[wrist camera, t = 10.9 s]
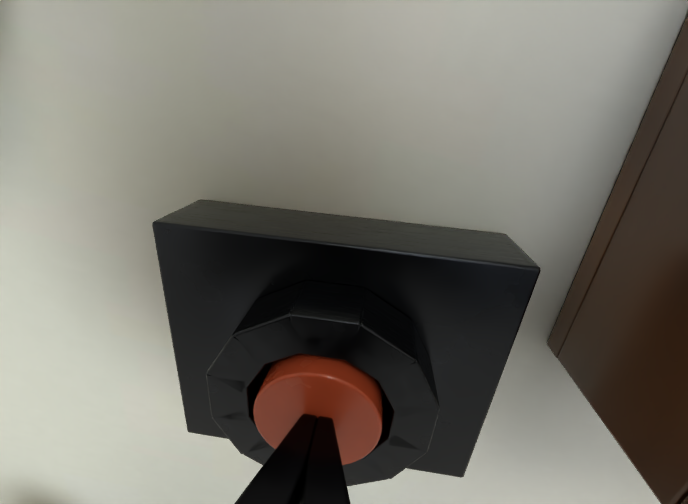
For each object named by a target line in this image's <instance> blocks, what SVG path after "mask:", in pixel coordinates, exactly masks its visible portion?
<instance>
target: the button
mask: <svg viewBox="0 0 688 504" xmlns="http://www.w3.org/2000/svg"><path fill="white" fill-rule="evenodd" d="M302 414H311V415H316V416H317V418H318V417H319V416H324V417H330V418H332V419H333V422H334V426H335V431H336V436H337V441H338V446H339V451H340V456H341V461H342V465H346V464H350V463H353V462H356V461H358V460H360V459H362V458H364V457H365V456H367V455H368V454H369V453H370V452H371V451H372V450H373V449H374V448H375V446H376V445H377V443H378V441H379V439H380V437H381V433H382V388H381V386H380V384H379V382H378V381H377V380H376V379H374V378H372V377H371V376H369V375H368V374H366V373H364V372H363V371H361V370H360V369H358V368H356V367H355V366H353V365H352V364H350V363H348V362H347V361H345V360H341V359H334V358H327V357H320V356H313V355H306V354H298V355H294V356H291V357H288V358H285V359H281V360H278V361H275V362H272V363H271V365H270V367H269V370H268V372H267V374H266V376H265V379H264V381H263V383H262V385H261V388H260V390H259V392H258V394H257V397H256V399H255V402H254V407H253V415H254V421H255V424H256V427H257V429H258V431H259V433H260V434H261V436H262V437H263V438H264V439H265V441H266V442H267V443H268V444H269V445H270V446H272V447H273V448H274V449H276V448H277V447H278V445H279V444H280V443H281V441H282V440H283V439H284V437H285V436H286V435H287V434H288V432H289V431H290V430H291V428H292V427H293V426H294V424H295V423H296V422H297V420H298V419H299V418H300V416H301V415H302Z"/></svg>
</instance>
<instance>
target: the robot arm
mask: <svg viewBox="0 0 688 504" xmlns="http://www.w3.org/2000/svg"><path fill="white" fill-rule="evenodd" d="M235 504H350V500H349V495H348V490H347V485H346V480H345V475H344V471H343V466H342V461H341V456H340V451H339V446H338V441H337V436H336V431H335V426H334V422H333V419H332V418H330V417H324V416H319V417H318V418H317V416H316V415H311V414H302V415H301V416H300V418H299V419H298V420H297V422H296V423H295V424H294V426H293V427H292V428H291V430H290V431H289V432H288V434H287V435H286V436H285V437H284V439H283V440H282V441H281V443H280V444H279V445H278V447H277V448H276V449H275V451H274V452H273V453H272V455H271V456H270V457H269V459H268V460H267V461H266V463H265V464H264V465H263V467H262V468H261V469H260V471H259V472H258V473H257V474H256V476H255V477H254V478H253V480H252V481H251V482H250V484H249V485H248V486H247V488H246V489H245V490H244V492H243V493H242V494H241V496H240V497H239V498H238V500H237V501H236V502H235Z"/></svg>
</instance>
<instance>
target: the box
mask: <svg viewBox="0 0 688 504" xmlns="http://www.w3.org/2000/svg"><path fill="white" fill-rule="evenodd" d="M547 345H548V347H549V348H550V349H551V351H552V352H553V354H554V355H555V356H556V357H557V358H558V360H559V361H560V363H561V364H562V365H563V367H564V368H565V370H566V371H567V372H568V374H569V375H570V377H571V378H572V380H573V381H574V382H575V384H576V385H577V387H578V388H579V389H580V391H581V392H582V394H583V395H584V396H585V398H586V399H587V401H588V402H589V403H590V405H591V406H592V408H593V409H594V410H595V412H596V413H597V415H598V416H599V417H600V419H601V420H602V422H603V423H604V424H605V426H606V427H607V429H608V430H609V431H610V433H611V434H612V436H613V437H614V438H615V440H616V441H617V443H618V444H619V445H620V447H621V448H622V450H623V451H624V452H625V454H626V455H627V457H628V458H629V459H630V461H631V462H632V464H633V465H634V466H635V468H636V469H637V471H638V472H639V473H640V475H641V476H642V478H643V479H644V481H645V482H646V483H647V485H648V486H649V488H650V489H651V490H652V492H653V493H654V495H655V496H656V497H657V499H658V500H659V502H660V503H661V504H681V503H682V501H683V500H684V499H685V498H686V497H687V496H688V15H687V18H686V20H685V22H684V25H683V27H682V29H681V32H680V34H679V36H678V39H677V41H676V43H675V46H674V48H673V50H672V53H671V55H670V57H669V60H668V62H667V64H666V67H665V69H664V71H663V74H662V76H661V78H660V81H659V83H658V85H657V88H656V90H655V92H654V95H653V97H652V99H651V102H650V104H649V106H648V109H647V111H646V113H645V116H644V118H643V120H642V123H641V125H640V127H639V130H638V132H637V134H636V137H635V139H634V141H633V144H632V146H631V148H630V151H629V153H628V155H627V158H626V160H625V162H624V165H623V167H622V169H621V172H620V174H619V176H618V179H617V181H616V183H615V186H614V188H613V190H612V193H611V195H610V197H609V200H608V202H607V204H606V207H605V209H604V211H603V214H602V216H601V218H600V221H599V223H598V225H597V228H596V230H595V232H594V235H593V237H592V239H591V242H590V244H589V246H588V249H587V251H586V253H585V256H584V258H583V260H582V263H581V265H580V267H579V270H578V272H577V274H576V277H575V279H574V281H573V284H572V286H571V288H570V291H569V293H568V295H567V298H566V300H565V302H564V305H563V307H562V309H561V312H560V314H559V317H558V319H557V321H556V324H555V326H554V328H553V331H552V333H551V335H550V338H549V340H548V342H547Z"/></svg>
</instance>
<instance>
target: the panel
mask: <svg viewBox="0 0 688 504" xmlns="http://www.w3.org/2000/svg"><path fill="white" fill-rule="evenodd" d="M152 226H153V231H154V237H155V243H156V249H157V255H158V261H159V266H160V272H161V278H162V284H163V290H164V296H165V301H166V307H167V313H168V319H169V325H170V331H171V336H172V342H173V348H174V354H175V360H176V366H177V371H178V377H179V383H180V389H181V395H182V400H183V406H184V412H185V418H186V424H187V430H188V432H190V433H196V434H203V435H209V436H215V437H221V438H227V439H230V441H231V442H232V443H233V444H234V446H235V447H236V448H237V449H238V451H239V452H240V453H241V454H244V455H245V456H247V457H249V458H251V459H253V460H254V461H256V462H258V463H260V464H262V465H264V464H265V463H266V461H267V460H268V459H269V457H270V456H271V455H272V453H273V452H274V451H275V449H274V448H273V447H272V446H270V445H269V444H268V443H267V442H266V441H265V439H264V438H263V437H262V436H261V434H260V433H259V431H258V429H257V427H256V424H255V421H254V415H253V407H254V402H255V399H256V397H257V394H258V392H259V390H260V388H261V385H262V383H263V381H264V379H265V376H266V374H267V372H268V370H269V367H270V365H271V363H272V362H275V361H278V360H281V359H285V358H288V357H291V356H294V355H298V354H306V355H313V356H320V357H327V358H334V359H341V360H345V361H347V362H348V363H350V364H352V365H353V366H355V367H356V368H358V369H360V370H361V371H363V372H364V373H366V374H368V375H369V376H371V377H372V378H374V379H376V380H377V381H378V382H379V384H380V386H381V388H382V433H381V437H380V439H379V441H378V443H377V445H376V446H375V448H374V449H373V450H372V451H371V452H370V453H369V454H368V455H367V456H365V457H364V458H362V459H360V460H358V461H356V462H353V463H350V464H346V465H342V466H343V471H344V475H345V480H346V485H347V486H352V485H357V484H363V483H369V482H375V481H380V480H386V479H391V478H393V477H394V476H396V475H397V474H398V473H400V472H401V471H402V470H404V469H405V468H408V469H414V470H420V471H426V472H432V473H438V474H444V475H450V476H456V477H463V476H464V474H465V471H466V468H467V466H468V463H469V460H470V458H471V455H472V452H473V450H474V447H475V444H476V442H477V439H478V436H479V434H480V431H481V428H482V426H483V423H484V420H485V418H486V415H487V412H488V410H489V407H490V404H491V402H492V399H493V396H494V394H495V391H496V388H497V386H498V383H499V380H500V378H501V375H502V372H503V370H504V367H505V364H506V362H507V359H508V356H509V354H510V351H511V348H512V346H513V343H514V340H515V338H516V335H517V332H518V330H519V327H520V324H521V322H522V319H523V316H524V314H525V311H526V308H527V306H528V303H529V300H530V298H531V295H532V292H533V289H534V287H535V284H536V281H537V279H538V276H539V273H540V267H539V266H538V265H537V264H536V263H535V262H534V261H533V260H532V259H531V258H530V257H529V256H528V255H527V254H526V253H525V252H524V251H523V250H522V249H521V248H520V247H519V246H518V245H517V244H516V243H515V242H513V241H512V240H511V239H510V238H509V237H508V236H507V235H506V234H500V233H491V232H482V231H473V230H464V229H455V228H447V227H438V226H429V225H420V224H411V223H402V222H393V221H385V220H376V219H367V218H358V217H349V216H340V215H331V214H323V213H314V212H305V211H296V210H287V209H278V208H269V207H261V206H252V205H243V204H234V203H225V202H216V201H208V200H198V201H196V202H194V203H192V204H190V205H188V206H185V207H183V208H181V209H179V210H177V211H175V212H173V213H171V214H168V215H166V216H164V217H162V218H160V219H158V220H156V221H154V222H153V223H152Z"/></svg>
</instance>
